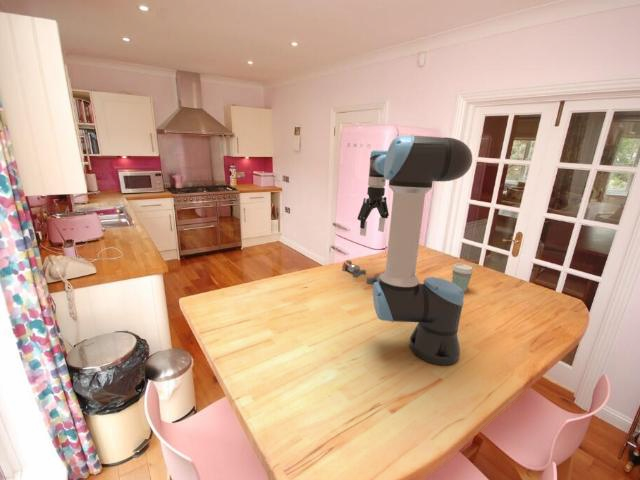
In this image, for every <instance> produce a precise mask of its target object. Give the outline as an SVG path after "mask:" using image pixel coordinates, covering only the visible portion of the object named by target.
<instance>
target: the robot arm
mask: <svg viewBox="0 0 640 480" xmlns="http://www.w3.org/2000/svg"><path fill="white" fill-rule="evenodd" d="M472 164H473V154H472V151H471V149H470V147H469V146H468V145H467V144H466V143H465V142H464V141H461V140H459V139H456V138H453V137H449V136H448V137H445V136H443V137H440V136H439V137H438V136H427V135H426V136H425V135H413V134H412V135H399V136H396V137H395V138H393V140H392V141H391V142H390V145H389V147H388V149H387V150H384V149H382V150H378V149H377V150H376V149H375V150H374V149H373V150H371V152H370V157H369V171H368V182H367V185H368V187H367V193H366V194H367V195H368V197H364V198H363V200H362V205H361V208H360V210H359V213H358V216H357V218H356V220H358V221H360V225H359V227H360V229H359V230H360V231H359V235H360V236H364V237H366V236H367V226H368V225H367V224H368V221H367V219H368V217H369V215H370V214H371V212H372V210H374V209H377V211H378V212H377V213H378V214H379V216H380V217H379V218H378V232H381V233H384V232H385V226H386V225H385V224H386V219H388V217H389V216H391V217H390V223H389V224H390V225H389V233H388V241H387V253H386V261H385V271H384V272H383V273H381V275H380V281H379V282H375V283H373V284H372V285H373V286H372V299H373V306H374V310H375V314H376V317H377V318H378V320H380V321H383V322H384V321H386V322H392V323H394V322H398V323H400V322H401V323H403V322H404V323H417V324H416V326H415V328H414V330H413V331H412V334H410V337H409V344H408V345H409V348H410V351H412V353H413V354H414V355H416V356H417V357H418V358H420V359H422V360H424V361H425V362H428V363H431V364H435V365H442V366H443V365H444V366H445V365H452V364H455V363H456V362H458V361H459V358H460V353H461V348H460V341H459V336H458V331H459V325H460V321H461V315H462V310H463V306H464V296H465V293H464V292H463V290H462V289H461V288H460V287H459V286H458V285H456V284H454V283H452V281H450V280H447V279H444V278H440V277H434V276H430V277H426V278H425V279H424V280H423V283H420V279H419V278H418V277H417V276H416V269H417V262H418V256H419V255H418V254H419V246H420V238H421V229H422V223H423V214H424V206H425V198H426V194H428V192H429V191H431V190H432V189H433V183H434V182H441V183H442V182H451V181H455V180H458V179H460V178H462V177H463V176H465V175H466V174H467V172H469V170H470V169H471V167H472ZM386 181H388V187H389V189H391V191H392V193H393V194H392V195H393V196H392V204H391V215H390V214H389V208H388V203H387V197H386V196H385V193H386V188H385V187H386Z"/></svg>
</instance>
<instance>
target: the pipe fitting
mask: <svg viewBox="0 0 640 480" xmlns="http://www.w3.org/2000/svg"><path fill="white" fill-rule="evenodd" d="M341 269H342V271H343V272H348V273H350V274H353V275H352V277H353V278H359V276H363V275H364V276H366V274H367V270H366V269H361V268H360V266H359V265H356V264H354V263H353V262H352V260H349V259H347V260H345V261H344V262H343V264H342V267H341ZM381 274H382V273H381ZM381 274H380V273H376V274H374V275H373V276H371V277H366V281H365V283H366V284H367V285H373V284H374V283H375V282H379V281H380V275H381Z"/></svg>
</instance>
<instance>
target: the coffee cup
mask: <svg viewBox="0 0 640 480" xmlns="http://www.w3.org/2000/svg"><path fill="white" fill-rule="evenodd" d="M473 274H474V270H473V267H472V265H471V266H470V265H468V264H465V263H454V264H453V266H452V279H451V280H452V281H451V282H452V283H454V284H456V285H458V286H459V287H460V288H461V289H462V290H463V292H464V294H465V293H467V290H468V288H469V284H470V281H471V278H472V275H473Z"/></svg>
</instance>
